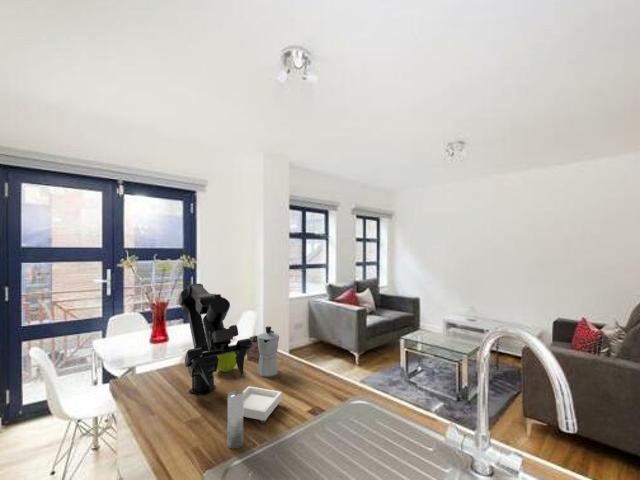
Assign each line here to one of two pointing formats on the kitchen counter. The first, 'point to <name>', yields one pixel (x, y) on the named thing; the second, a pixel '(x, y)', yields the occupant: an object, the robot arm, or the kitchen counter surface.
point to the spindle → (235, 419)
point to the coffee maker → (268, 353)
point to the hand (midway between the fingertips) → (226, 380)
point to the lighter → (253, 349)
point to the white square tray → (260, 402)
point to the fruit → (226, 362)
